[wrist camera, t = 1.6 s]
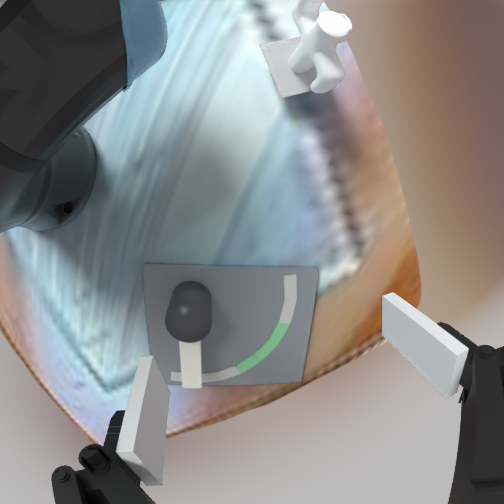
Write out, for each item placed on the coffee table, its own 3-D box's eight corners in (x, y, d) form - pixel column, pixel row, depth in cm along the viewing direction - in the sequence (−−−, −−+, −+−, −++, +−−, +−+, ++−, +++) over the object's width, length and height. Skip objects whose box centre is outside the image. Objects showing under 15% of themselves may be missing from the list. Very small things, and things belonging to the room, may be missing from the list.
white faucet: (277, 113, 33) (321, 76, 19) (251, 49, 31) (276, -15, 16) (328, 100, 34) (392, 66, 19) (302, 39, 31) (349, -18, 16)
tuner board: (155, 377, 40) (154, 384, 38) (145, 263, 36) (142, 267, 34) (298, 375, 43) (301, 382, 42) (315, 266, 39) (319, 270, 37)
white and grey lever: (170, 280, 35) (163, 300, 29) (211, 281, 36) (212, 301, 30) (176, 373, 38) (172, 400, 32) (211, 373, 39) (212, 402, 33)
